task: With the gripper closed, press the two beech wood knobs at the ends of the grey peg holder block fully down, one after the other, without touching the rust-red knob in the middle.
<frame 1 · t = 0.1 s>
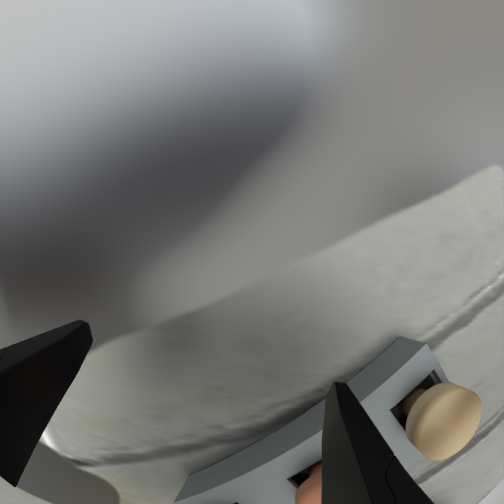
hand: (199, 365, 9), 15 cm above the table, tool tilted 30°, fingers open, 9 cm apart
grey peg holder block: (319, 452, 21), on the table
knob 2: (428, 410, 16), point 6 cm above the table, slide at 0.0 cm
knob middle: (328, 485, 15), point 6 cm above the table, slide at 0.0 cm
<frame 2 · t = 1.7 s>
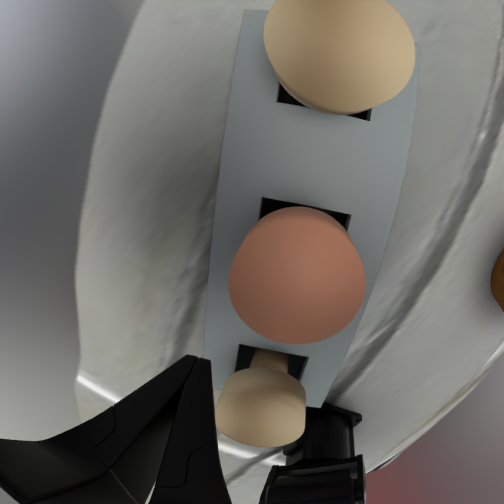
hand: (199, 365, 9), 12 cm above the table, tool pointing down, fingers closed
grey peg holder block: (299, 221, 19), on the table
knob 2: (331, 63, 10), point 6 cm above the table, slide at 0.0 cm
knob 1: (266, 381, 18), point 6 cm above the table, slide at 0.0 cm
knob middle: (298, 253, 14), point 6 cm above the table, slide at 0.0 cm
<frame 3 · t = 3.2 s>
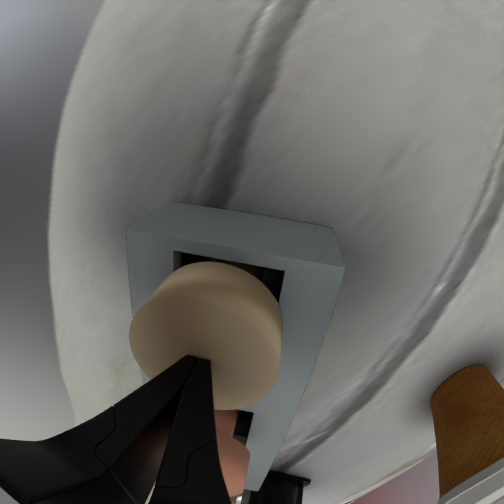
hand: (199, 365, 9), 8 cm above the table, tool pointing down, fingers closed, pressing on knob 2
disposable coffee cup: (460, 388, 19), on the table
grey peg holder block: (230, 371, 20), on the table
knob 2: (224, 304, 12), point 5 cm above the table, slide at 1.0 cm, touching gripper
knob 1: (209, 479, 19), point 6 cm above the table, slide at 0.0 cm
knob middle: (211, 432, 15), point 6 cm above the table, slide at 0.0 cm
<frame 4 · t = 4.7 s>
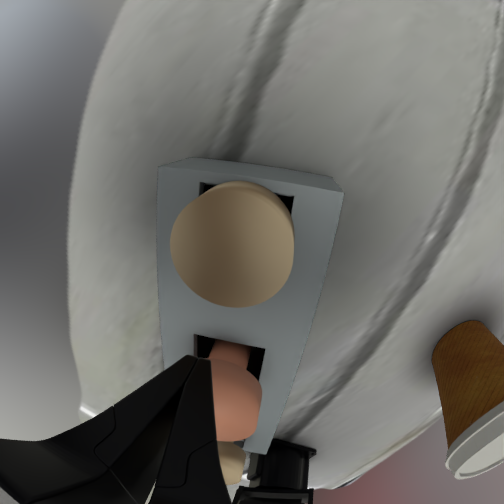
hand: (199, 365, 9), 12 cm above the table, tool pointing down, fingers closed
disposable coffee cup: (459, 346, 21), on the table
grey peg holder block: (240, 322, 22), on the table
knob 2: (244, 226, 15), point 4 cm above the table, slide at 1.9 cm
knob 1: (218, 438, 21), point 6 cm above the table, slide at 0.0 cm
knob middle: (224, 373, 17), point 6 cm above the table, slide at 0.0 cm
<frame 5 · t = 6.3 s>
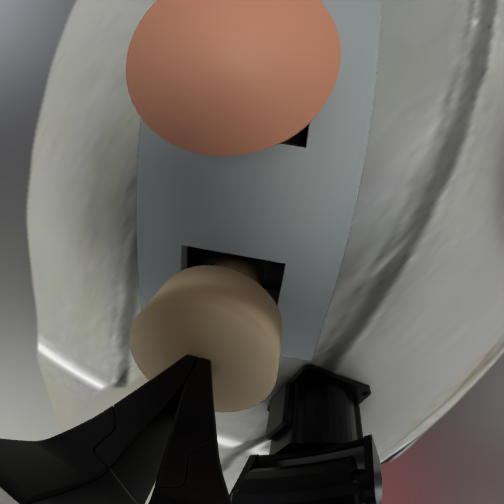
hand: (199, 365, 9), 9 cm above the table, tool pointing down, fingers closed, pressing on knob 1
grey peg holder block: (267, 98, 14), on the table
knob 1: (224, 307, 12), point 6 cm above the table, slide at 0.1 cm, touching gripper
knob middle: (250, 78, 9), point 6 cm above the table, slide at 0.0 cm
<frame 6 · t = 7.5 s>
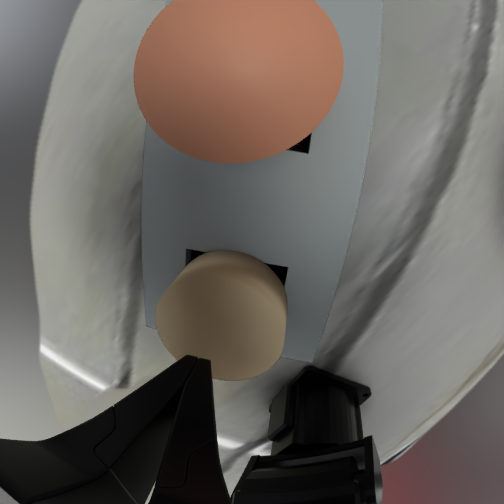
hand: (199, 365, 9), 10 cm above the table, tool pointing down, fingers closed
grey peg holder block: (269, 104, 14), on the table
knob 1: (235, 289, 14), point 4 cm above the table, slide at 1.9 cm
knob middle: (254, 85, 9), point 6 cm above the table, slide at 0.0 cm
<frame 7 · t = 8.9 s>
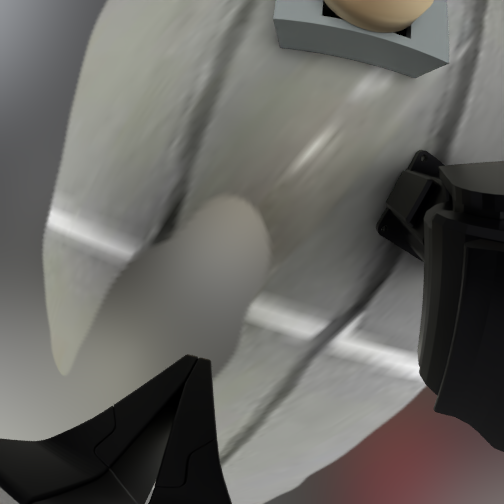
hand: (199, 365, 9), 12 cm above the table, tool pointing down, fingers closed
knob 1: (364, 1, 10), point 4 cm above the table, slide at 1.9 cm
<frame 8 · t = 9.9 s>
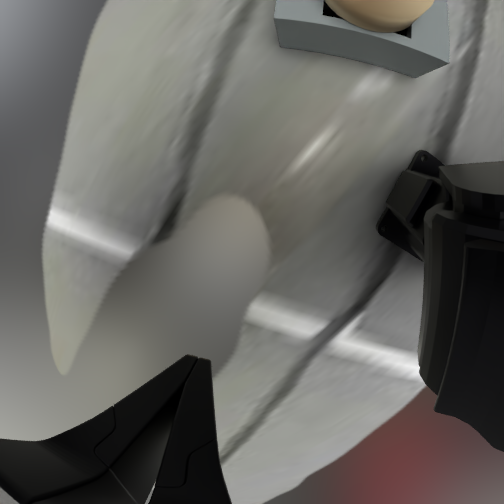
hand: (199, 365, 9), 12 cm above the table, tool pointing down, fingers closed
knob 1: (365, 0, 10), point 4 cm above the table, slide at 1.9 cm
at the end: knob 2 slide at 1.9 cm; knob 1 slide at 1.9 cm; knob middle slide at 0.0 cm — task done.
